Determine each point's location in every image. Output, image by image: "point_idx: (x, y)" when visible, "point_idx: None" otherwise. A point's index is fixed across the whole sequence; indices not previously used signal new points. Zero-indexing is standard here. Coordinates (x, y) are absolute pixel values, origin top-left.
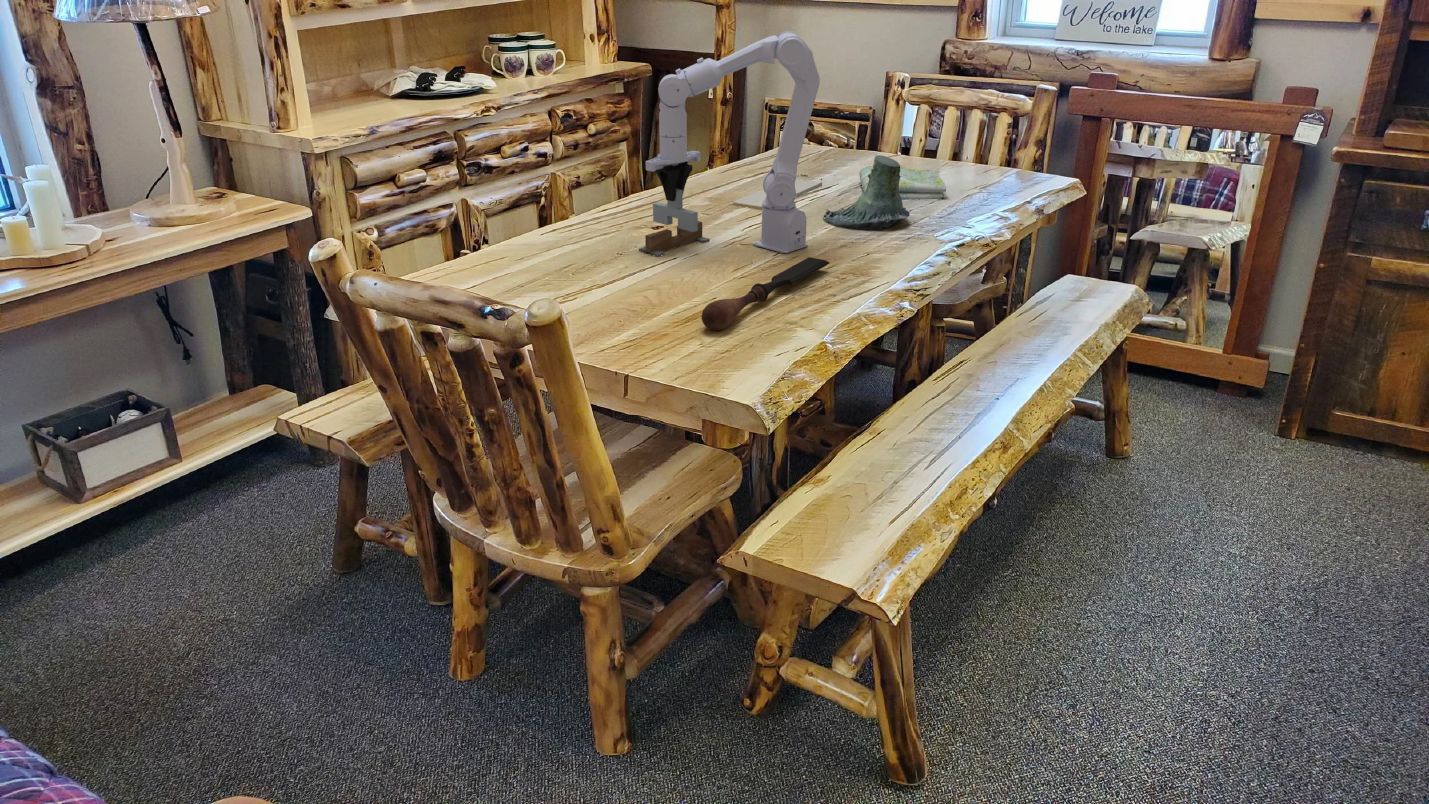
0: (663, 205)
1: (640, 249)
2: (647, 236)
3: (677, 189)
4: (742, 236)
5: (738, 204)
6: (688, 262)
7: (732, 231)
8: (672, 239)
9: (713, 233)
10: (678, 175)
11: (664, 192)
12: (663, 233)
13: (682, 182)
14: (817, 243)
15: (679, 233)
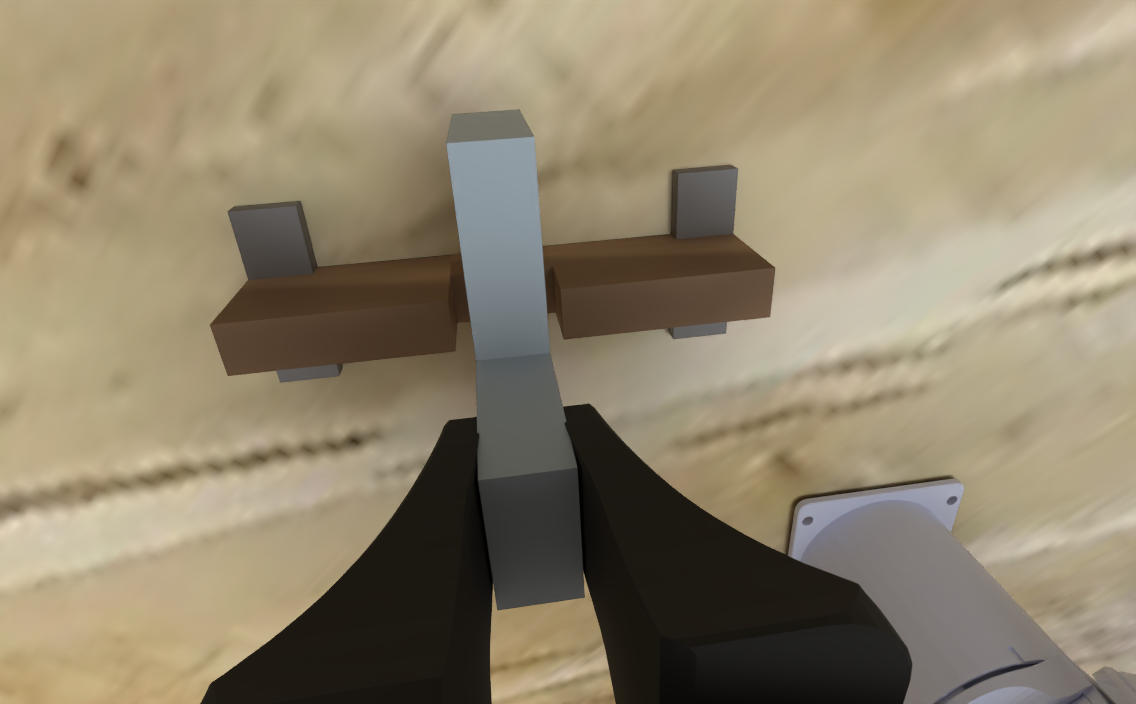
0: (488, 286)
1: (234, 229)
2: (218, 345)
3: (556, 560)
4: (904, 364)
5: None
6: (377, 518)
7: (963, 260)
8: (463, 320)
9: (868, 217)
10: (624, 700)
11: (428, 460)
12: (367, 359)
13: (609, 666)
14: None
15: (555, 295)
